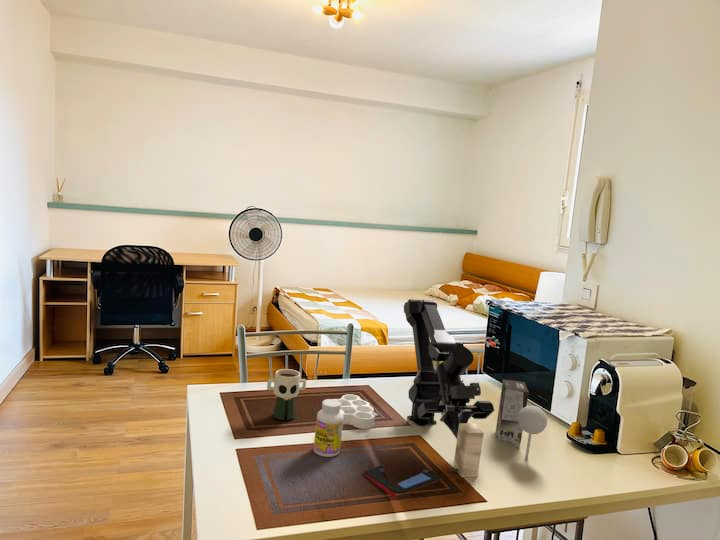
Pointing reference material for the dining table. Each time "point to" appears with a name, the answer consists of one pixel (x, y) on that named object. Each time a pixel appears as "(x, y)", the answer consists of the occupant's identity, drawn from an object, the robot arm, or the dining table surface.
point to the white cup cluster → (357, 411)
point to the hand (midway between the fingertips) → (462, 443)
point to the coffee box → (511, 411)
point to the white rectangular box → (468, 450)
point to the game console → (405, 486)
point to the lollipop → (532, 422)
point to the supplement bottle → (328, 429)
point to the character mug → (286, 392)
